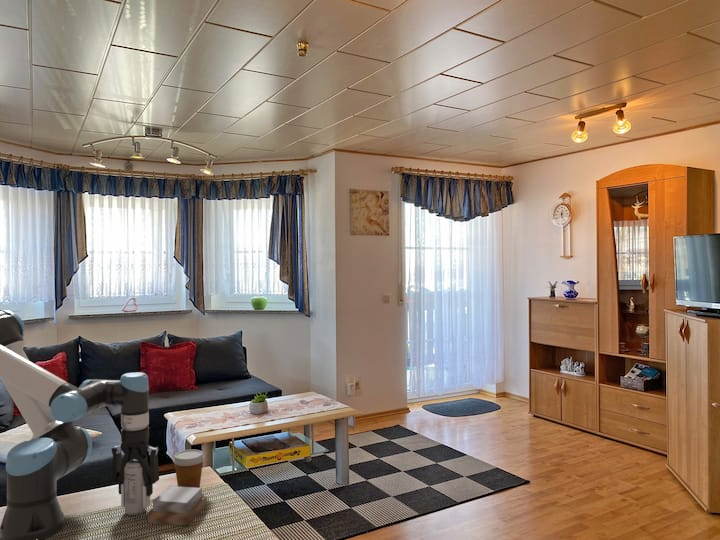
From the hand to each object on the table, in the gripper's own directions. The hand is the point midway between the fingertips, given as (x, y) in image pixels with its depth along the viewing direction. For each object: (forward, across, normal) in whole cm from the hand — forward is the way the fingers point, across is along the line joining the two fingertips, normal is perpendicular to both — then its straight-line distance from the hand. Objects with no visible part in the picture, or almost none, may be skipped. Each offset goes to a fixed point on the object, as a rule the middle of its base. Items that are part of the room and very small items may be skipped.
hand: (135, 505), depth 162 cm
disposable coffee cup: (+2, +9, +15) cm, 18 cm away
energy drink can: (+2, 0, 0) cm, 2 cm away
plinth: (+2, +13, 0) cm, 13 cm away
